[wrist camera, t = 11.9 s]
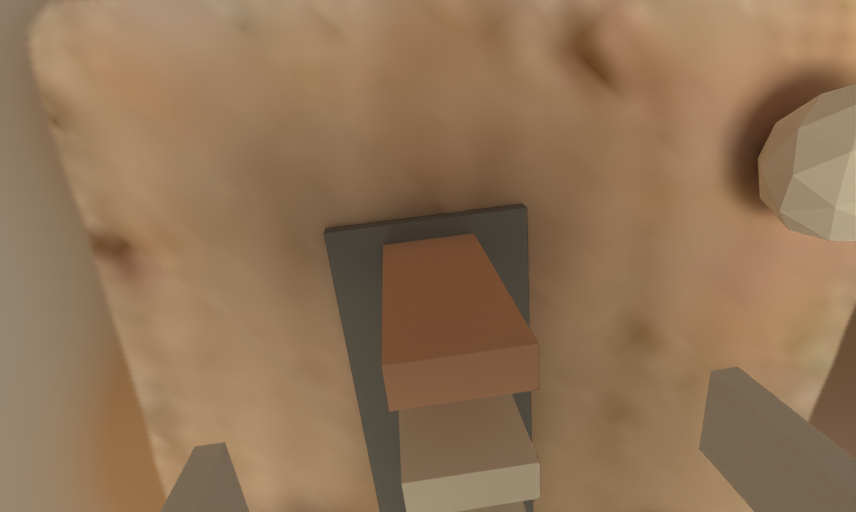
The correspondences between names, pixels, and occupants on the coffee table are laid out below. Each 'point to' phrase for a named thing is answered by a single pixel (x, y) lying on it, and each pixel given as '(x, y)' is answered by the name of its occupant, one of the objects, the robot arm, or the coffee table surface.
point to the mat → (362, 314)
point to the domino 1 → (450, 326)
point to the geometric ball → (814, 167)
